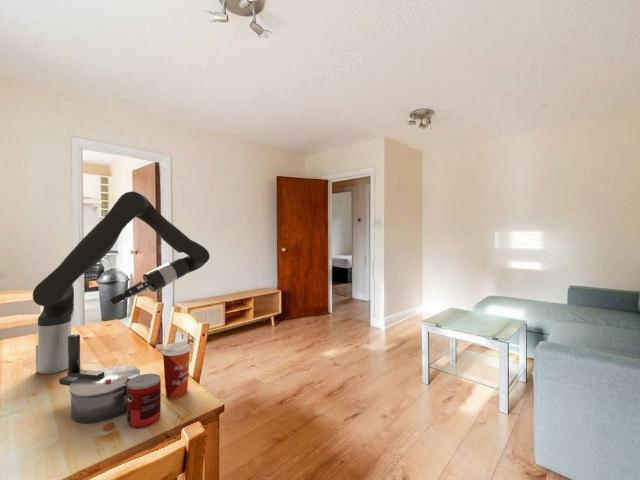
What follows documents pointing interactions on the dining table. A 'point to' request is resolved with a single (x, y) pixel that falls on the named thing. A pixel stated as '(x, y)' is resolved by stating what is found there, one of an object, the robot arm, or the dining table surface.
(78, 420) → the pot
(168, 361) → the coffee cup
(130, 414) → the canned food
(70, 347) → the lid
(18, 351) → the dining table surface
